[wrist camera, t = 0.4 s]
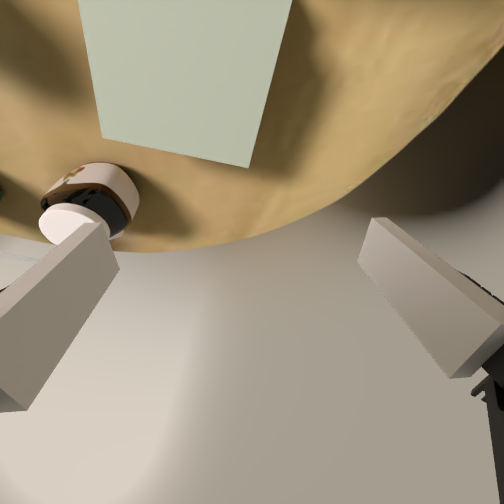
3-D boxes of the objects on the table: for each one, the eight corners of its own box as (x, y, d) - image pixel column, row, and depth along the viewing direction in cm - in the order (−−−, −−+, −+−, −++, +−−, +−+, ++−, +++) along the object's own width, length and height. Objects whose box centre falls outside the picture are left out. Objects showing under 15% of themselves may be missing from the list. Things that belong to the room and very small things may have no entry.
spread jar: (123, 152, 32) (91, 197, 24) (161, 215, 40) (146, 264, 32) (44, 171, 33) (-12, 221, 25) (97, 229, 41) (68, 281, 33)
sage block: (89, -108, 15) (51, -146, 12) (284, -20, 19) (299, -29, 15) (118, 121, 24) (102, 137, 21) (244, 149, 28) (248, 168, 25)
